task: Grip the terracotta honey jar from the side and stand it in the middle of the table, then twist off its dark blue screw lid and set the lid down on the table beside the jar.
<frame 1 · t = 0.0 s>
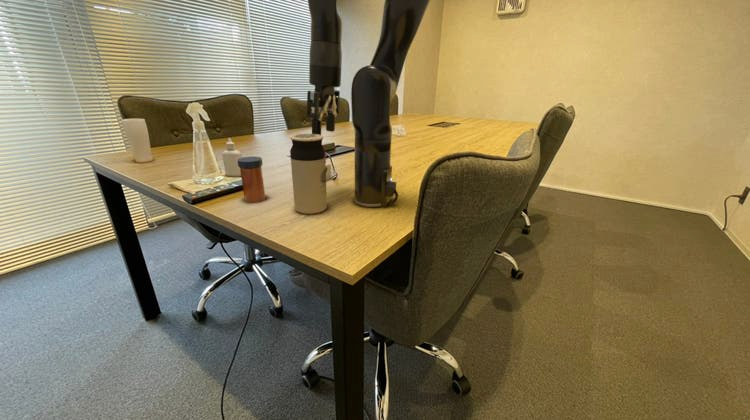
hand: (323, 133, 79), 17 cm above the table, tool pointing down, fingers open, 8 cm apart
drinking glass: (144, 161, 113), on the table
ink cartridge box: (317, 182, 96), on the table
lid: (249, 160, 77), point 10 cm above the table, screwed on, not yet turned
jar: (255, 198, 81), on the table
eye dropper bottle: (235, 175, 100), on the table
travel mug: (311, 209, 77), on the table
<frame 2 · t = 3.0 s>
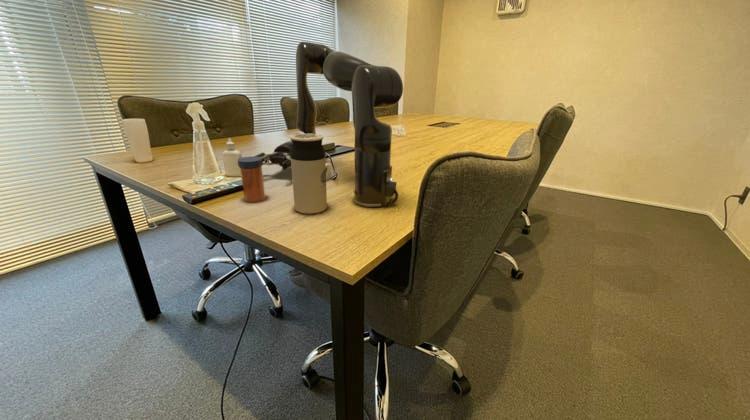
hand: (269, 165, 89), 6 cm above the table, tool horizontal, fingers open, 8 cm apart
nothing on the table moved.
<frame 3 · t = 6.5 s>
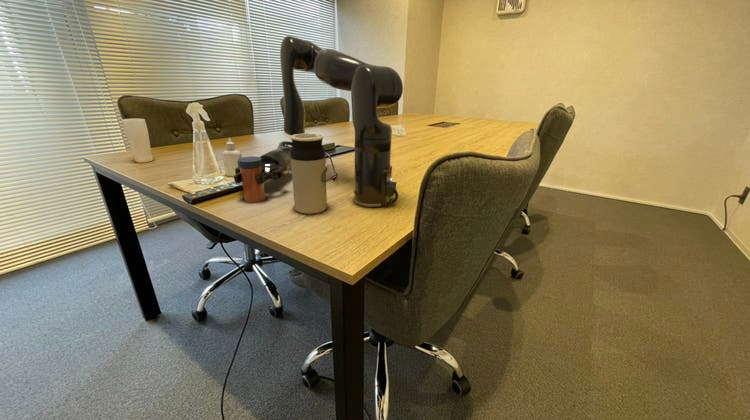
hand: (247, 180, 77), 6 cm above the table, tool horizontal, fingers closed on jar, 5 cm apart
jar: (255, 198, 81), on the table, touching gripper
everything else where it was.
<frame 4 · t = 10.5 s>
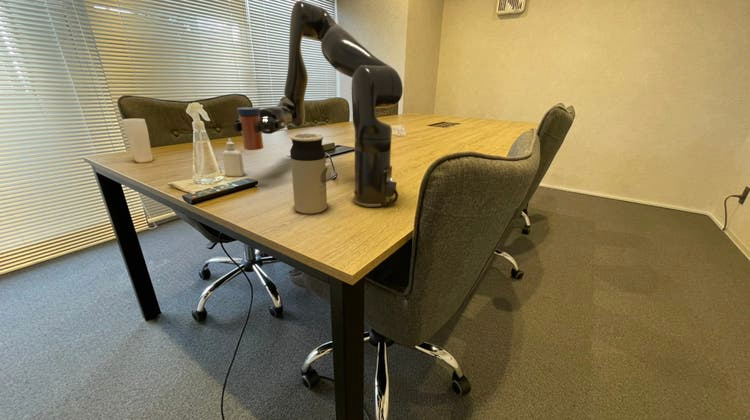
hand: (246, 128, 82), 17 cm above the table, tool horizontal, fingers closed on jar, 5 cm apart
lid: (248, 109, 82), point 22 cm above the table, screwed on, not yet turned
jar: (253, 148, 87), point 11 cm above the table, touching gripper
everything else where it was.
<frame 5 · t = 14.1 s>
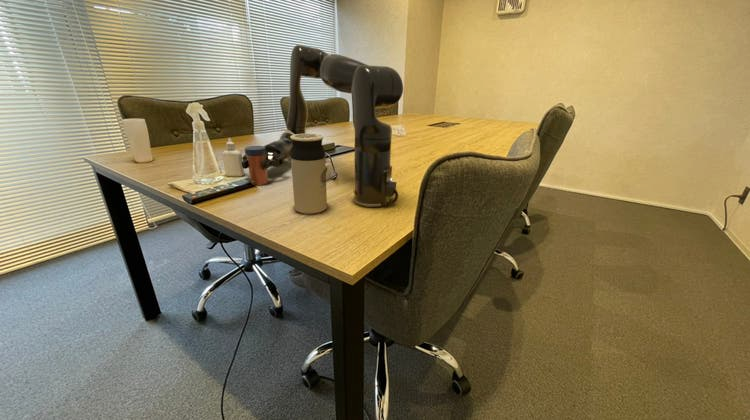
hand: (253, 165, 89), 6 cm above the table, tool horizontal, fingers closed on jar, 5 cm apart
lid: (255, 148, 90), point 11 cm above the table, screwed on, not yet turned
jar: (259, 182, 94), on the table, touching gripper
everything else where it was.
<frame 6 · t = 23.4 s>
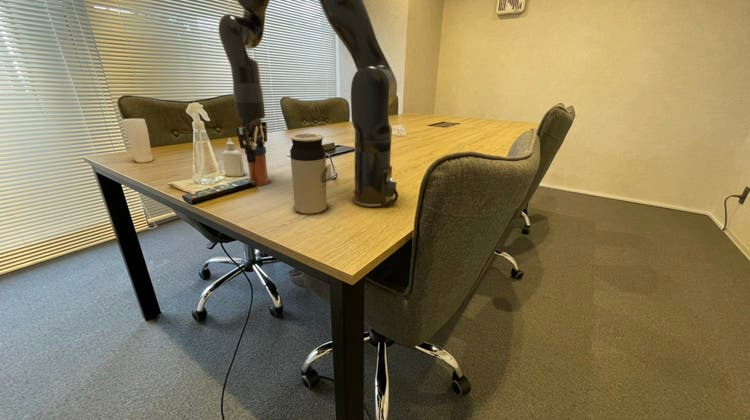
hand: (256, 159, 91), 7 cm above the table, tool pointing down, fingers closed on lid, 5 cm apart
lid: (255, 148, 90), point 11 cm above the table, screwed on, not yet turned, touching gripper
jar: (259, 182, 94), on the table
everything else where it was.
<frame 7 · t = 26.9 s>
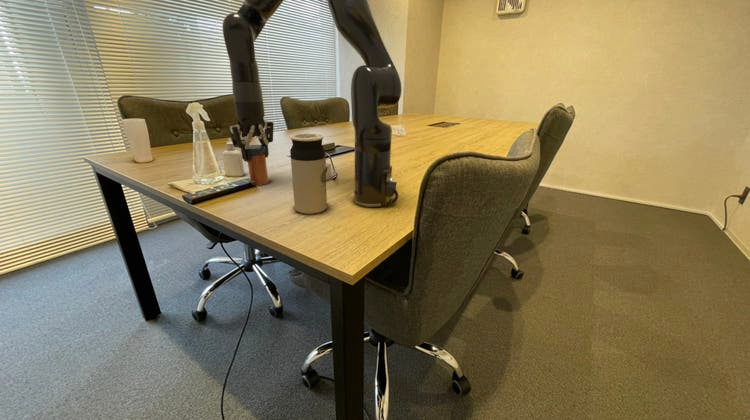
hand: (256, 159, 91), 8 cm above the table, tool pointing down, fingers closed on lid, 5 cm apart
lid: (254, 147, 89), point 11 cm above the table, off its thread, touching gripper
everything else where it was.
when the fingers open (0 cm above the table, at t = 35.8 s): lid drops 2 cm, point 1 cm above the table.
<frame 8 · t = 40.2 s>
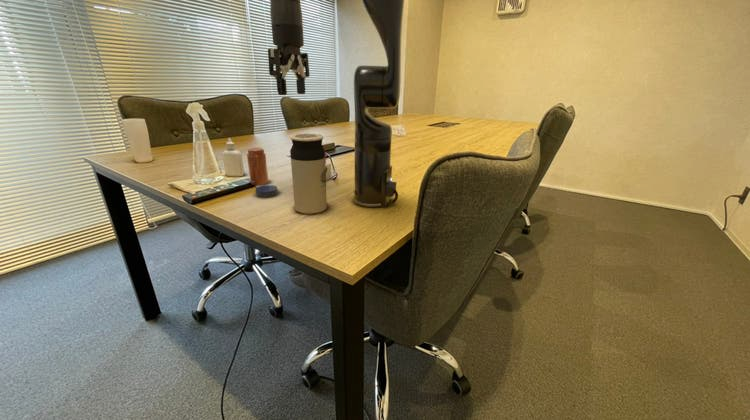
hand: (292, 94, 81), 26 cm above the table, tool pointing down, fingers open, 8 cm apart
lid: (266, 189, 84), point 1 cm above the table, off its thread
everything else where it was.
at the end: lid came off its thread; lid point 1.3 cm above the table; the gripper is holding nothing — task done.
